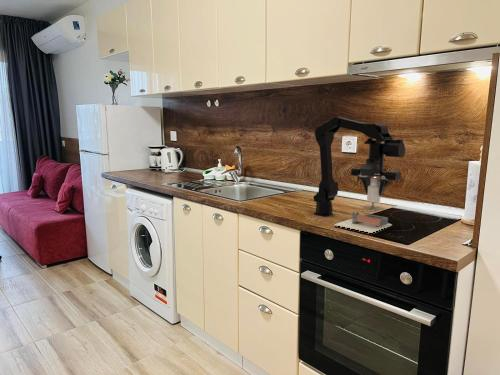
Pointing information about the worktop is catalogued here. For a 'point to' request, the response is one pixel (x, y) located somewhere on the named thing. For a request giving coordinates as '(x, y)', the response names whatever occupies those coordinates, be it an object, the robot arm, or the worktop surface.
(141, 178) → the worktop surface
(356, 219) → the locking bar
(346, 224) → the lock base
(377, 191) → the pepper shaker
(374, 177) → the wine glass
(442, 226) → the worktop surface
